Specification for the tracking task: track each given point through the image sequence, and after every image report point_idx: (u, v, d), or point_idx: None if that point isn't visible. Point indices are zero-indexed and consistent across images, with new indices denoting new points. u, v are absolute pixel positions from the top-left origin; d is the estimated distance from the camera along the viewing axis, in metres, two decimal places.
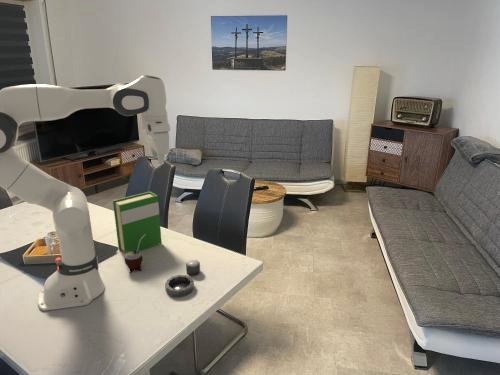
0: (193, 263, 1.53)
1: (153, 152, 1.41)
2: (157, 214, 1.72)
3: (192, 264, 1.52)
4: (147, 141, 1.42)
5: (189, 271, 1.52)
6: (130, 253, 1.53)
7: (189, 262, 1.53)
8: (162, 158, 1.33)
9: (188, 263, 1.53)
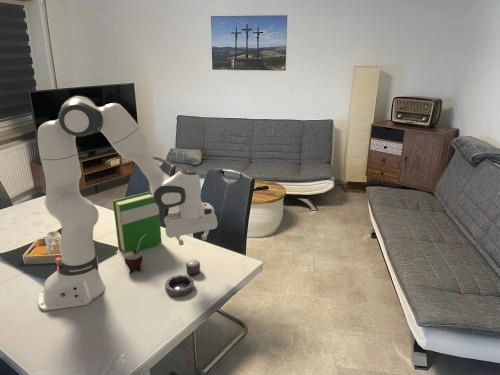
0: (193, 263, 1.53)
1: (180, 240, 1.47)
2: (157, 214, 1.72)
3: (192, 264, 1.52)
4: (175, 234, 1.44)
5: (189, 271, 1.52)
6: (130, 253, 1.53)
7: (189, 262, 1.53)
8: None
9: (188, 263, 1.53)
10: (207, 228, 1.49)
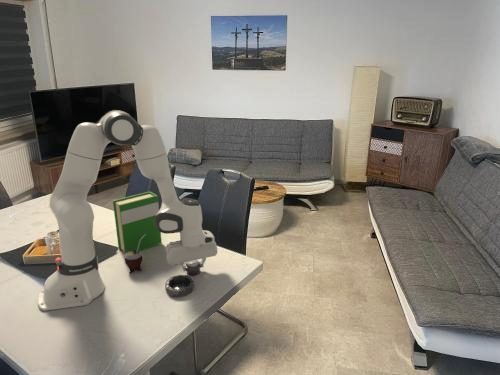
0: (193, 263, 1.53)
1: (184, 266, 1.52)
2: None
3: (192, 264, 1.52)
4: (176, 261, 1.48)
5: (189, 271, 1.52)
6: (130, 253, 1.53)
7: (189, 262, 1.53)
8: None
9: (188, 263, 1.53)
10: (207, 255, 1.53)
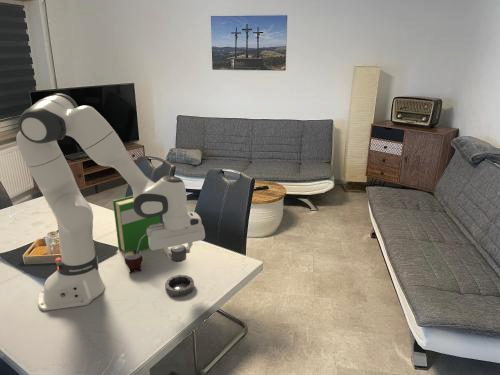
0: (178, 248, 1.37)
1: (168, 252, 1.37)
2: None
3: (177, 249, 1.37)
4: (158, 246, 1.33)
5: (174, 256, 1.36)
6: (130, 253, 1.53)
7: (174, 247, 1.38)
8: None
9: (172, 248, 1.38)
10: (194, 239, 1.38)
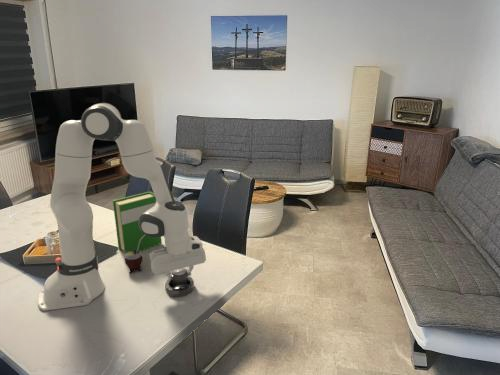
0: (179, 271, 1.41)
1: (170, 275, 1.40)
2: None
3: (179, 272, 1.41)
4: (160, 270, 1.36)
5: (175, 280, 1.40)
6: (130, 253, 1.53)
7: (175, 270, 1.42)
8: None
9: (174, 271, 1.41)
10: (195, 263, 1.42)
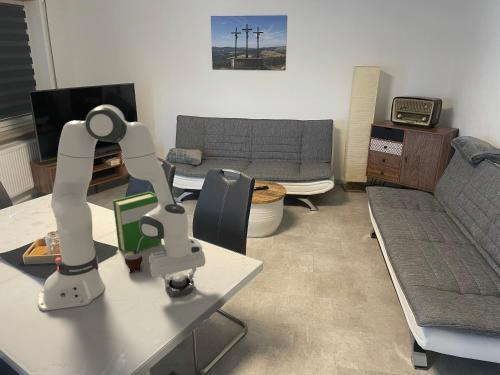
0: (179, 278, 1.42)
1: (166, 279, 1.40)
2: None
3: (178, 279, 1.41)
4: (160, 273, 1.36)
5: (175, 286, 1.41)
6: (130, 253, 1.53)
7: (175, 277, 1.42)
8: None
9: (174, 278, 1.42)
10: (194, 266, 1.42)
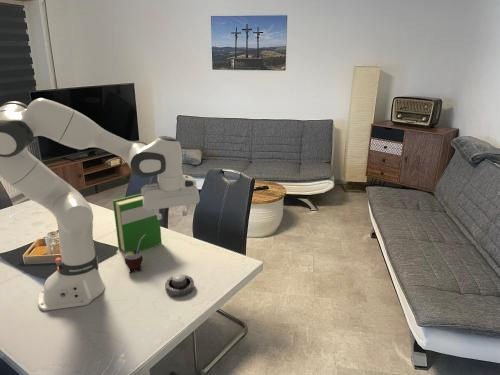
0: (179, 278, 1.42)
1: (159, 214, 1.36)
2: None
3: (178, 279, 1.41)
4: (152, 206, 1.33)
5: (175, 286, 1.41)
6: (130, 253, 1.53)
7: (175, 277, 1.42)
8: None
9: (174, 278, 1.42)
10: (188, 202, 1.38)
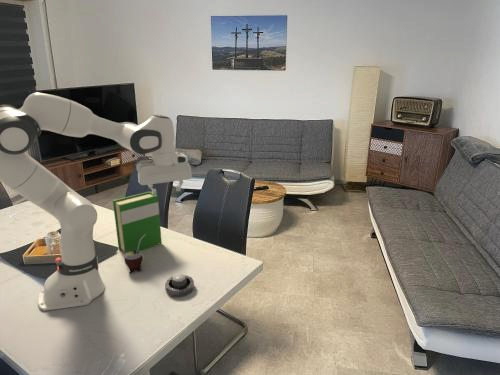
0: (179, 278, 1.42)
1: (153, 189, 1.45)
2: (157, 214, 1.72)
3: (178, 279, 1.41)
4: (147, 181, 1.41)
5: (175, 286, 1.41)
6: (130, 253, 1.53)
7: (175, 276, 1.42)
8: None
9: (174, 278, 1.42)
10: (181, 178, 1.47)
